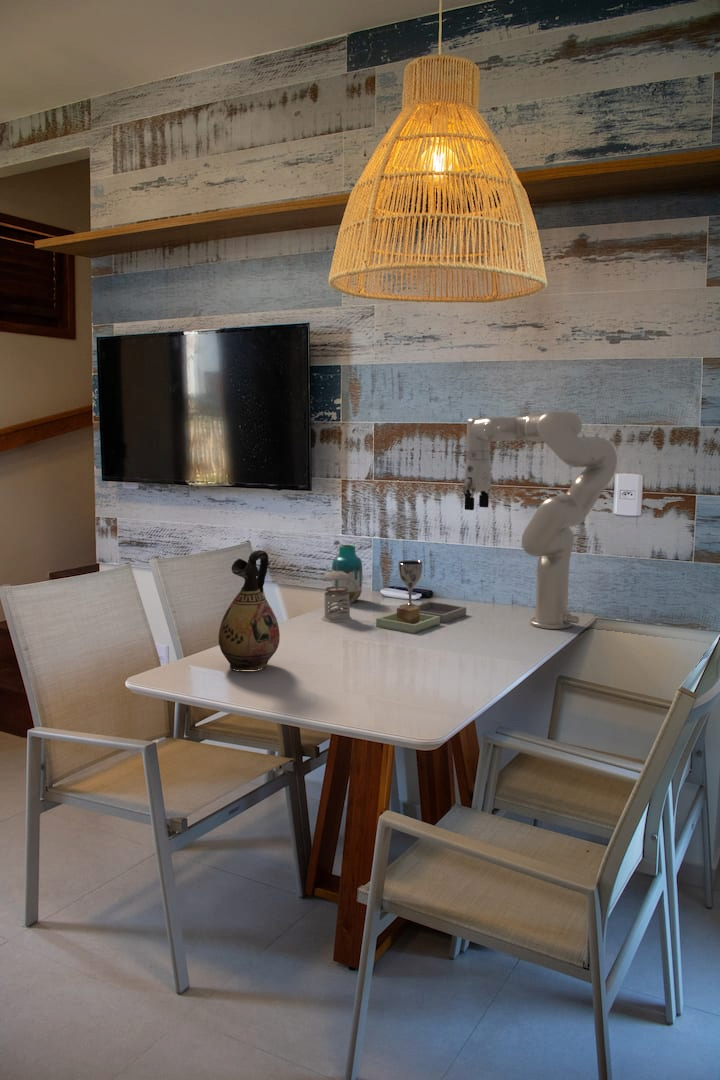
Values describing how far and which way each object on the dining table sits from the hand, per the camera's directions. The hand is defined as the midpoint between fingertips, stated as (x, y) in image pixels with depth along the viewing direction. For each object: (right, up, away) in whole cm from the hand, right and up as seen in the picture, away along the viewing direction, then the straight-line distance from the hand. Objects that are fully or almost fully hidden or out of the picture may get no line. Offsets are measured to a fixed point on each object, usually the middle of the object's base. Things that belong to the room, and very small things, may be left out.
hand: (476, 508), depth 285 cm
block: (-23, -36, -19) cm, 47 cm away
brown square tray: (-14, -35, -7) cm, 38 cm away
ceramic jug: (-66, -43, -62) cm, 100 cm away
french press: (-45, -35, -11) cm, 58 cm away
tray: (-23, -36, -19) cm, 48 cm away
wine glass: (-21, -33, +6) cm, 40 cm away
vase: (-43, -32, +15) cm, 55 cm away
